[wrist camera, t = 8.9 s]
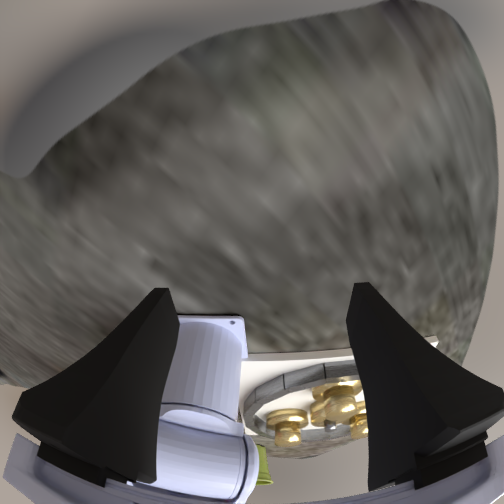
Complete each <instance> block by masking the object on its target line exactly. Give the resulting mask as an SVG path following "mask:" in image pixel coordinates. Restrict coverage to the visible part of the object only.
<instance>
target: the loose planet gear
mask: <svg viewBox="0 0 504 504" xmlns="http://www.w3.org/2000/svg"><path fill="white" fill-rule="evenodd" d="M361 391H362V385H361V381H360V380H356V381H348V382H340V383H330V384H324V385H321V386H317V387H313V388H312V396H313V399H314V400H316V401H317V402H321V403H324V408H325V417H326V419H327V420H331V421H337V420H343V419H347V418H350V417H352V416H354V415H355V414H356V413H357V412H358V409H357V404H356V399H355V396H356V395H358V394H359V393H360V392H361Z"/></svg>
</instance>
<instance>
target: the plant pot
mask: <svg viewBox="0 0 504 504" xmlns="http://www.w3.org/2000/svg"><path fill="white" fill-rule="evenodd" d="M256 446H257V449H258V453H259V472H258V477H257V481H256V484H255V485H267V484H272V483H273V481H271V476H270V475H269V470H268V464H267V457H266V450H265V447H261V446H260V445H257V444H256Z"/></svg>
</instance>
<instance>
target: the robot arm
mask: <svg viewBox="0 0 504 504" xmlns="http://www.w3.org/2000/svg"><path fill="white" fill-rule="evenodd" d="M346 324H347V330H348V336H349V342H350V345H351V349H352V353H353V356H354V360H355V363H356V367H357V370H358V374H359V378H360V381H361V385H362V389H363V394H364V400H365V407H366V416H367V427H368V446H369V468H368V490H369V492H368V493H364V494H359V495H354V496H350V497H344V498H337V499H331V500H324V501H315V502H305V503H293V504H492V503H493V502H494V501H496V500H497V499H498V498H500V497H501V496H502V495H504V435H503V436H501V437H499V438H498V439H496V440H494V441H493V442H491V443H490V444H488V445H486V446H485V443H484V440H486V439H487V438H488V435H487V432H486V430H487V429H489V428H490V427H491V426H492V425H494V424H495V423H496V422H497V421H499V420H500V419H501V418H502V417H503V416H504V392H503V389H502V388H500V387H498V386H496V385H494V384H492V383H490V382H488V381H486V380H484V379H482V378H480V377H478V376H476V375H474V374H473V373H471V372H469V371H468V370H466V369H464V368H463V367H461V366H460V365H458V364H457V363H455V362H454V361H452V360H451V359H450V358H448V357H447V356H445V355H444V354H443V353H441V352H440V351H439V350H438V349H436V348H435V347H434V346H433V345H431V344H430V343H429V342H428V341H427V340H426V339H424V338H423V337H422V336H421V335H420V334H419V333H418V332H417V331H416V330H415V329H414V328H412V327H411V326H410V325H409V324H408V323H407V322H406V321H405V320H404V319H403V318H402V317H401V316H400V315H399V314H398V313H397V312H396V310H395V309H394V308H393V307H392V306H391V305H390V304H389V303H388V302H387V301H386V300H385V299H384V298H383V297H382V296H381V295H380V293H379V292H378V291H377V290H376V289H375V288H374V287H373V286H372V285H371V284H370V283H369V282H364V283H354V287H353V291H352V296H351V300H350V305H349V309H348V313H347V317H346ZM242 358H248V350H247V342H246V334H245V325H244V319H243V318H242V317H241V316H185V315H177V313H176V310H175V307H174V304H173V300H172V297H171V294H170V291H169V288H154V289H153V290H152V291H151V292H150V293H149V294H148V295H147V296H146V297H145V298H144V299H143V300H142V301H141V302H140V304H139V305H138V306H137V307H136V308H135V309H134V310H133V311H132V312H131V313H130V314H129V315H128V316H127V317H126V318H125V319H124V320H123V321H122V322H121V323H120V324H119V325H118V326H117V327H116V328H115V329H114V330H113V331H112V332H111V333H110V334H109V335H108V336H107V337H106V338H105V339H104V340H103V341H102V342H101V343H99V344H98V345H97V346H96V347H95V348H94V349H92V350H91V351H90V352H89V353H87V354H86V355H85V356H84V357H82V358H81V359H80V360H78V361H77V362H75V363H74V364H72V365H71V366H70V367H68V368H67V369H65V370H64V371H62V372H61V373H59V374H57V375H56V376H54V377H52V378H50V379H49V380H47V381H45V382H43V383H41V384H39V385H37V386H35V387H33V388H31V389H28V390H26V391H24V392H22V394H21V397H20V398H19V401H18V403H17V405H16V408H15V411H14V413H13V415H12V419H13V420H14V421H15V422H16V423H17V424H18V425H20V426H21V427H22V428H23V429H25V430H26V431H27V432H29V433H30V434H31V435H33V436H34V437H36V438H37V439H38V440H40V441H41V444H40V446H38V445H37V444H35V443H33V442H32V441H30V440H28V439H26V438H25V437H23V436H22V435H20V434H18V433H17V434H16V436H15V439H14V442H13V445H12V448H11V451H10V454H9V457H8V460H7V464H6V467H5V470H4V474H3V478H4V479H5V480H6V481H7V482H9V483H10V484H11V485H12V486H14V487H15V488H16V489H17V490H19V491H20V492H21V493H22V494H24V495H25V496H26V497H28V498H29V499H30V500H31V501H32V502H34V503H35V504H245V502H246V500H247V498H248V496H249V495H250V494H251V492H252V491H253V489H254V487H255V484H256V481H257V477H258V472H259V453H258V449H257V446H256V444H255V443H254V442H253V440H252V438H251V437H250V436H249V435H247V434H243V430H244V424H243V423H239V422H237V419H238V405H239V390H240V376H241V362H242ZM393 485H395V486H393ZM390 486H392V487H390ZM386 487H388V488H386ZM382 488H385V489H382ZM378 489H381V490H378ZM374 490H377V491H374ZM370 491H373V492H370Z"/></svg>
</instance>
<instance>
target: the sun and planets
mask: <svg viewBox="0 0 504 504" xmlns="http://www.w3.org/2000/svg"><path fill="white" fill-rule="evenodd" d="M356 404H357V409H358V412H357V413H356V414H355V415H354V416H352V417H350V418H347V419H343V420H337V421H331V420H327V419H326V417H325V408H324V403H321V402H317V401H315V402H314V403H312V404H311V405H310V419H311V425H313V426H315V427H324V430H325V432H333V431H335V430H337V427H336V425H337V424H340V423H342V424H344V425H350V431H351V438H352V439H360V438H365V437H368V427H367V416H366V407H365V400H364V401H360V402H356ZM308 424H309V421H308V413H307V412H306V411H305V410H302V409H296V408H286V409H279V410H275V411H272V412H270V413H268V414H267V416H266V427H267V428H268V429H270V430H273V431H275V445H276V446H280V447H291V446H296V445H299V444H301V429H302V428H305V427H306V426H307V425H308Z"/></svg>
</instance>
